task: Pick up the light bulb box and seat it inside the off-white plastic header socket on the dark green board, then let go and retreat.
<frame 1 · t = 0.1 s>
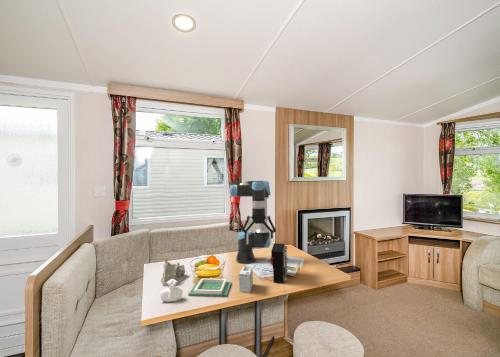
hand: (258, 243, 132), 28 cm above the table, fingers open, 13 cm apart
ceramic cottage: (173, 280, 147), on the table
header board: (211, 289, 134), on the table
electrical component: (279, 277, 150), on the table
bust: (171, 299, 123), on the table
light bulb box: (246, 288, 135), on the table
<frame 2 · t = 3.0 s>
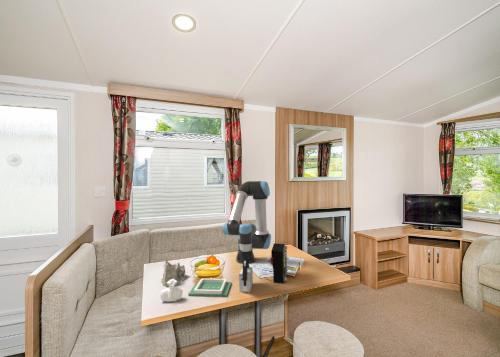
hand: (246, 286, 135), 1 cm above the table, fingers closed on light bulb box, 11 cm apart
light bulb box: (246, 288, 135), on the table, touching gripper
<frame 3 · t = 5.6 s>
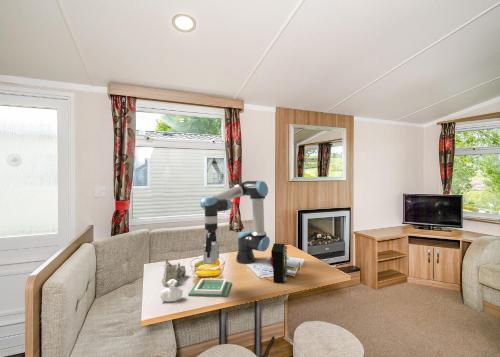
hand: (211, 259, 134), 18 cm above the table, fingers closed on light bulb box, 11 cm apart
light bulb box: (211, 261, 134), point 17 cm above the table, touching gripper
when the fingers open (5 cm above the table, at t = 8.7 s): light bulb box drops 3 cm, resting on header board.
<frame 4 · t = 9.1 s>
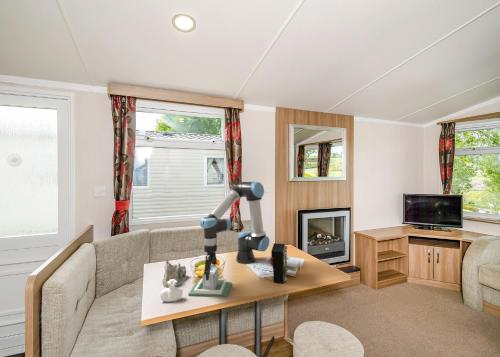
hand: (210, 279, 134), 6 cm above the table, fingers open, 13 cm apart
light bulb box: (211, 288, 134), point 1 cm above the table, touching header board
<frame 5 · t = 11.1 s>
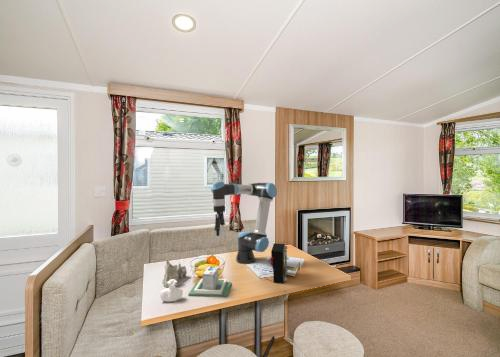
hand: (220, 237, 146), 28 cm above the table, fingers open, 13 cm apart
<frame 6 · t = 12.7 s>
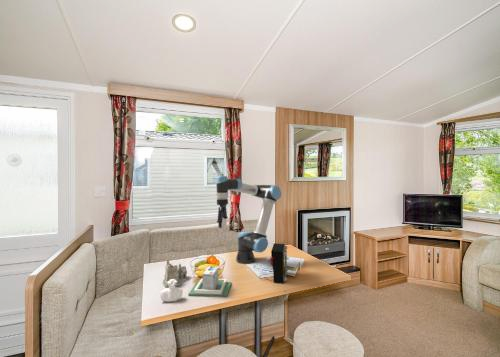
hand: (222, 230, 151), 32 cm above the table, fingers open, 13 cm apart
at the end: light bulb box inside the target area on the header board (0.4 cm from its centre), point 0.9 cm above the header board's base; light bulb box tilted 1°; the gripper is holding nothing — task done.
